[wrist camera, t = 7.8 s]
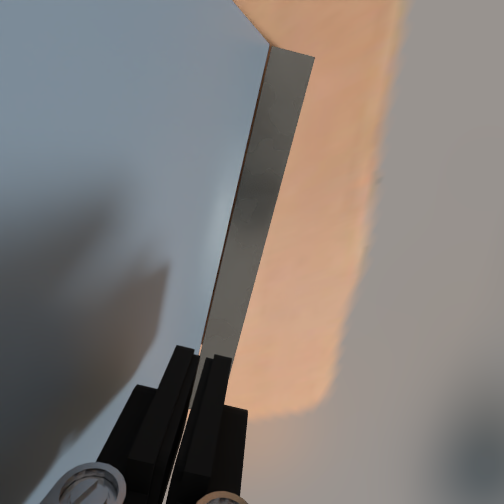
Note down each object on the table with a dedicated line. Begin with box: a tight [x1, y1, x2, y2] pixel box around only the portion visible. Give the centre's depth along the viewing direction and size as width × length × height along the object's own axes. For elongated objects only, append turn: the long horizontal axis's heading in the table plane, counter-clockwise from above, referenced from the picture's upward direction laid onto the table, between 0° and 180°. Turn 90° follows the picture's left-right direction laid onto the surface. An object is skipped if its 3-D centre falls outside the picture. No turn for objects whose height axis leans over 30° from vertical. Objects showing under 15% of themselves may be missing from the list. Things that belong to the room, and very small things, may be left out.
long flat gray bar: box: [189, 46, 315, 409], centre depth 24 cm, size 21×2×7 cm, turn 166°
